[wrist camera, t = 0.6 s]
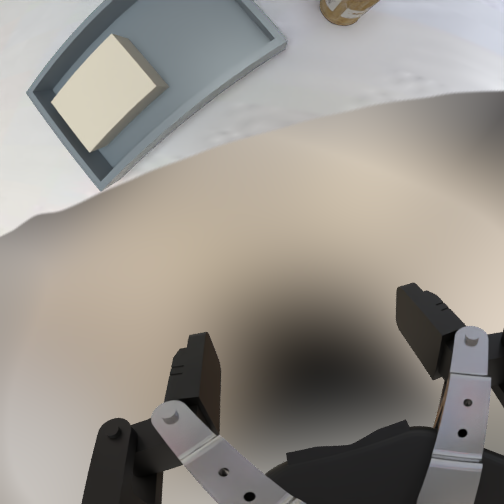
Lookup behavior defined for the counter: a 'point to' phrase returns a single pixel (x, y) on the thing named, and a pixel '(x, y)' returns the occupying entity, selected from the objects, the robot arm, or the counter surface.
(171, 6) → the tray
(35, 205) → the counter surface
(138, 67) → the beige rectangular block
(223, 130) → the counter surface
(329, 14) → the sprinkles bottle
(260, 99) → the counter surface
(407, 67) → the counter surface
